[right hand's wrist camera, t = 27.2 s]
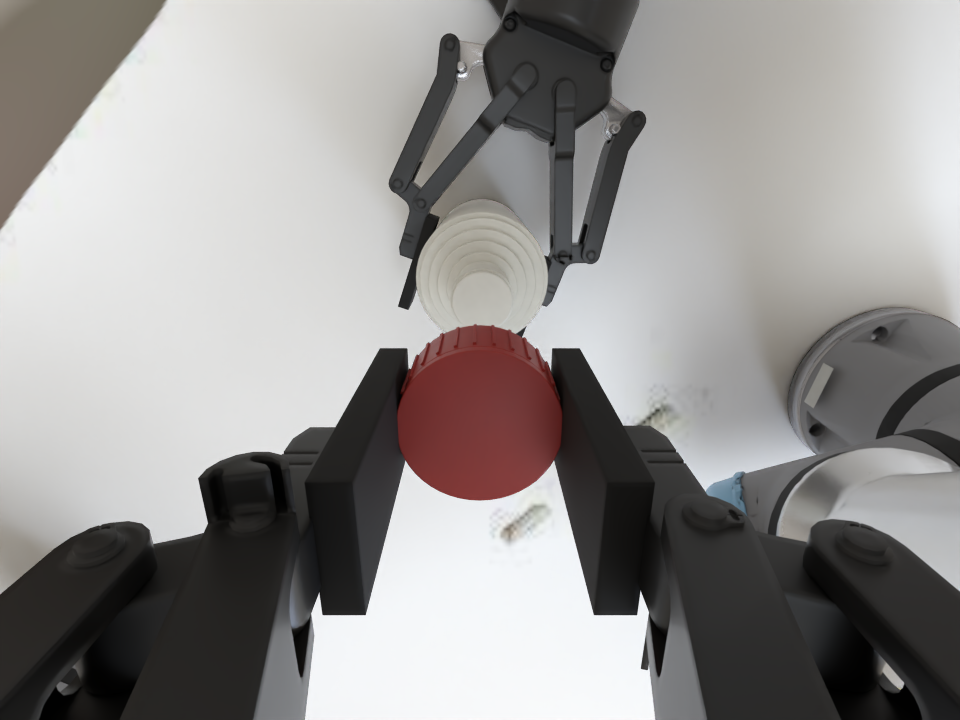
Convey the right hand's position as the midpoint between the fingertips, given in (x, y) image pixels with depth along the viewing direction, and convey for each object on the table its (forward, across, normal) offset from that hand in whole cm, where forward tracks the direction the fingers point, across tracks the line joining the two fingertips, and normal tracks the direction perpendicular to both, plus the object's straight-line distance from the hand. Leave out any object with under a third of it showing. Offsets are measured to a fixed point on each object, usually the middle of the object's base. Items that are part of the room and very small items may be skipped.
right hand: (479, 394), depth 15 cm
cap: (-2, 0, 0) cm, 2 cm away
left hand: (+23, +2, +4) cm, 24 cm away
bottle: (+30, 0, 0) cm, 30 cm away
